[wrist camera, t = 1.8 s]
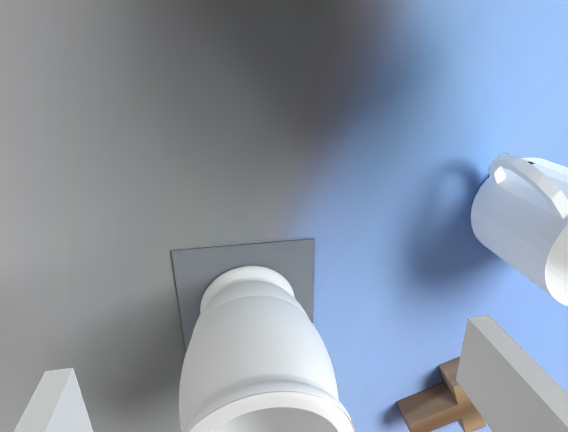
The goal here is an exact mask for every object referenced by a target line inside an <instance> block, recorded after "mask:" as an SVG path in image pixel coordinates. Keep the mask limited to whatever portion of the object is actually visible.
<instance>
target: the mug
mask: <svg viewBox="0 0 568 432" xmlns="http://www.w3.org/2000/svg"><path fill="white" fill-rule="evenodd" d="M489 174H490V176H489V177H488V178H487V179H486V180H485V182H484V183H483V184H482V186H481V187H480V188H479V190H478V192H477V194H476V196H475V198H474V201H473V204H472V208H471V226H472V229H473V232H474V234H475V236H476V238H477V239H478V240H479V241H480V242H481V243H482V244H483V245H484V246H486V247H487V248H488V249H489V250H491V251H492V252H493V253H495V254H496V255H497V256H499V257H500V258H501V259H503V260H504V261H505V262H507V263H508V264H509V265H511V266H512V267H513V268H515V269H516V270H517V271H519V272H520V273H521V274H523V275H524V276H525V277H526V278H528V279H529V280H530V281H532V282H533V283H534V284H536V285H537V286H538V287H540V288H541V289H542V290H544V291H545V292H546V293H548V294H549V295H550V296H552V297H553V298H554V299H556V300H557V301H559V302H560V303H562V304H564V305H568V168H566V167H564V166H561V165H558V164H555V163H552V162H550V161H547V160H544V159H541V158H523V159H522V158H520V157H518V156H515V155H510V154H507V153H503V154H501V155H500V156H498V157H497V158H495V159H494V160H493V163H492V164H490V165H489Z"/></svg>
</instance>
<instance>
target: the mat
mask: <svg viewBox="0 0 568 432" xmlns="http://www.w3.org/2000/svg"><path fill="white" fill-rule="evenodd" d="M171 253H172V260H173V267H174V274H175V281H176V288H177V295H178V302H179V309H180V315H181V322H182V329H183V336H184V343H185V350H186V352H187V349H188V346H189V343H190V340H191V337H192V334H193V330H194V327H195V325H196V322H197V320H198V318H199V316H200V305H201V300H202V297H203V295H204V293H205V291H206V289H207V288H208V287H209V285H210V284H211V283H212V282H213V281H214V280H215V279H216V278H218V277H219V276H220V275H222V274H224V273H225V272H227V271H230V270H232V269H235V268H239V267H244V266H261V267H266V268H269V269H272V270H274V271H276V272H278V273H279V274H281V275H282V276H283V277H284V278H285V279H286V280H287V281H288V282H289V284H290V285H291V287H292V289H293V292H294V296H295V299H296V300H297V301H298V302H299V304H300V305H301V306H302V308H303V309H304V311H305V312H306V314H307V316H308V318H309V320H310V321H311V322H312V324H313V283H314V239H303V240H291V241H279V242H267V243H255V244H242V245H230V246H218V247H206V248H194V249H182V250H172V251H171Z"/></svg>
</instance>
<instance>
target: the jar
mask: <svg viewBox="0 0 568 432" xmlns="http://www.w3.org/2000/svg"><path fill="white" fill-rule="evenodd" d="M179 418H180V428H181V432H356V431H355V428H354V425H353V423H352V420H351V418H350V416H349V414H348V412H347V410H346V409H345V407H344V406H343V405H342V404H341V403H340V402H339V398H338V391H337V385H336V379H335V375H334V371H333V367H332V364H331V360H330V357H329V355H328V352H327V349H326V347H325V345H324V343H323V341H322V339H321V337H320V335H319V333H318V331H317V330H316V328H315V327H314V325H313V324H312V322H311V321H310V320H309V318H308V316H307V314H306V312H305V311H304V309H303V308H302V306H301V305H300V304H299V302H298V301H297V300H296V299H295V296H294V292H293V289H292V287H291V285H290V284H289V282H288V281H287V280H286V279H285V278H284V277H283V276H282V275H281V274H279V273H278V272H276V271H274V270H272V269H269V268H266V267H261V266H244V267H239V268H235V269H232V270H230V271H227V272H225V273H224V274H222V275H220V276H219V277H218V278H216V279H215V280H214V281H213V282H212V283H211V284H210V285H209V287H208V288H207V289H206V291H205V293H204V295H203V297H202V300H201V305H200V316H199V318H198V320H197V322H196V325H195V327H194V330H193V334H192V337H191V340H190V343H189V346H188V349H187V352H186V355H185V359H184V363H183V367H182V372H181V379H180V388H179Z"/></svg>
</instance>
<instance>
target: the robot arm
mask: <svg viewBox="0 0 568 432" xmlns="http://www.w3.org/2000/svg"><path fill="white" fill-rule="evenodd" d="M456 380H457V382H458V383H459V385H460V386H461V388H462V389H463V390H464V392H465V393H466V395H467V396H468V397H469V399H470V400H471V402H472V403H473V405H474V406H475V407H476V409H477V410H478V412H479V413H480V415H481V416H482V417H483V419H484V420H485V422H486V423H487V424H488V426H489V427H490V429H491V430H492V432H568V394H567V393H566V392H565V391H564V390H563V389H562V388H561V387H560V386H559V385H558V384H557V383H556V382H555V381H554V380H553V379H552V378H551V377H550V376H549V375H548V374H547V373H546V372H545V371H544V370H543V369H542V368H541V367H540V366H539V365H538V364H537V363H536V362H535V361H534V360H533V359H532V358H531V357H530V356H529V355H528V354H527V352H526V351H525V350H524V349H523V348H522V347H521V346H520V345H519V344H518V343H517V342H516V341H515V340H514V339H513V338H512V337H511V336H510V335H509V334H508V333H507V332H506V331H505V330H504V329H503V328H502V327H501V326H500V325H499V324H498V323H497V322H496V321H495V320H494V319H493V318H492V317H491V316H490V315H487V316H479V317H471V318H468V322H467V327H466V332H465V337H464V342H463V347H462V352H461V357H460V362H459V367H458V372H457V377H456ZM14 432H93V429H92V426H91V423H90V420H89V416H88V413H87V410H86V407H85V404H84V401H83V397H82V394H81V391H80V388H79V385H78V382H77V378H76V375H75V372H74V369H73V368H66V369H58V370H51V371H45V373H44V375H43V376H42V378H41V380H40V382H39V384H38V386H37V388H36V390H35V392H34V394H33V396H32V397H31V399H30V401H29V403H28V405H27V407H26V409H25V411H24V413H23V415H22V417H21V418H20V420H19V422H18V424H17V426H16V428H15V430H14Z"/></svg>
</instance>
